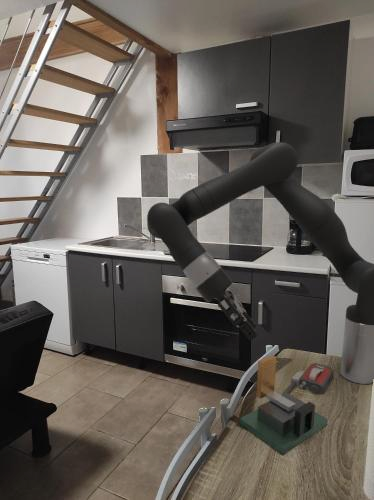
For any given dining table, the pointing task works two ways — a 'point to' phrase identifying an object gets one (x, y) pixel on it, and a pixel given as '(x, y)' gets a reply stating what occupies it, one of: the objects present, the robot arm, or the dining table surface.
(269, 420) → the green tiered platform
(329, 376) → the walkie-talkie
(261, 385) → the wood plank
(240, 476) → the dining table surface
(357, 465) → the dining table surface
